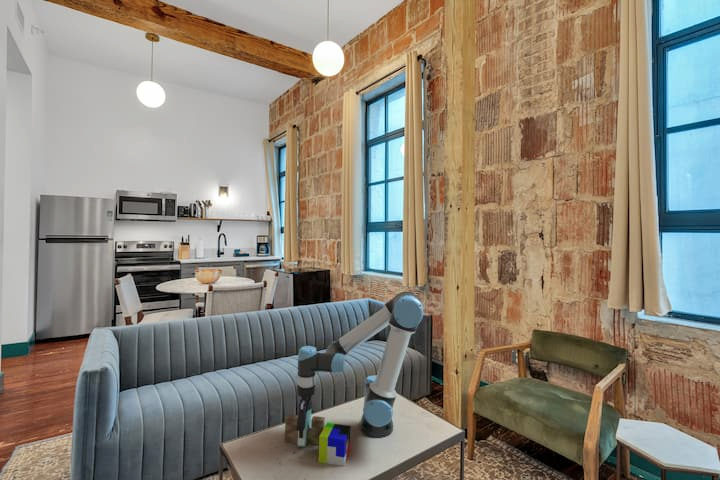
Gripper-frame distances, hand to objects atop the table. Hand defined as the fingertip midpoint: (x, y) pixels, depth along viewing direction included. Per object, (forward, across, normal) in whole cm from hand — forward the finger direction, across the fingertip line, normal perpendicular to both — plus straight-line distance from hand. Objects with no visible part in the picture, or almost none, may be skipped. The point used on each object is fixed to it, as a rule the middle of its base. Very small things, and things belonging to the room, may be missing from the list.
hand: (304, 436), depth 146 cm
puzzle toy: (+2, +8, +14) cm, 16 cm away
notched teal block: (+1, 0, 0) cm, 1 cm away
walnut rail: (+2, 0, 0) cm, 2 cm away
